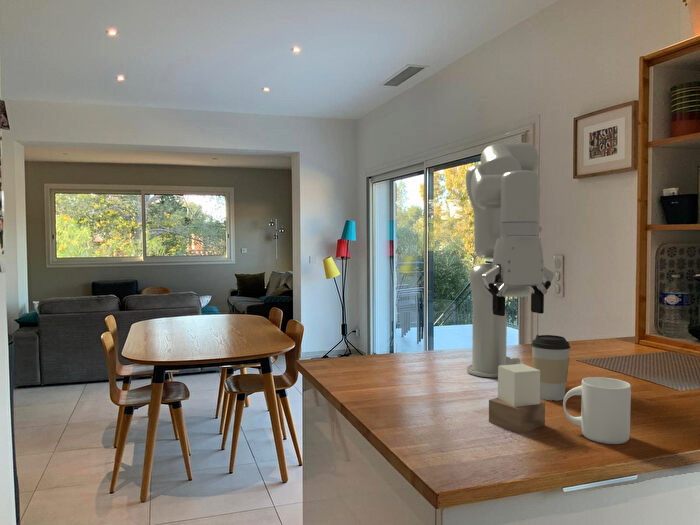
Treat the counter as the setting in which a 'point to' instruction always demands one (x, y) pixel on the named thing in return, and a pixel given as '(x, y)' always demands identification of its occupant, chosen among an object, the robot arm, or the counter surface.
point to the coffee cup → (551, 365)
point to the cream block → (519, 385)
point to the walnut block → (516, 415)
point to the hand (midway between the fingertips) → (518, 313)
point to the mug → (603, 409)
